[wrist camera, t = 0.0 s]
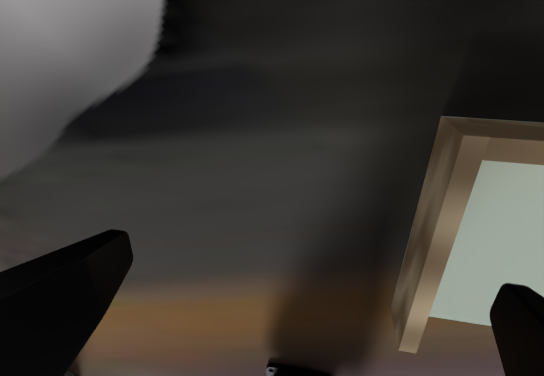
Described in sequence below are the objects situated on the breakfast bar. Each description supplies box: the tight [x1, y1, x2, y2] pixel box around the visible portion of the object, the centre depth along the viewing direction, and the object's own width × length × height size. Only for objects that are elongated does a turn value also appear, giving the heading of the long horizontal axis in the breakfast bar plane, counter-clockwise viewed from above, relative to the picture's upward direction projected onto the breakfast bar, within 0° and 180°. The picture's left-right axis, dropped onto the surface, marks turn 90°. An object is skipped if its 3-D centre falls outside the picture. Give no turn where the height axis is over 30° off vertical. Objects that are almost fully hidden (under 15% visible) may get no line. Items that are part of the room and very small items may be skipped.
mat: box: [391, 116, 544, 326], centre depth 22 cm, size 16×16×1 cm
